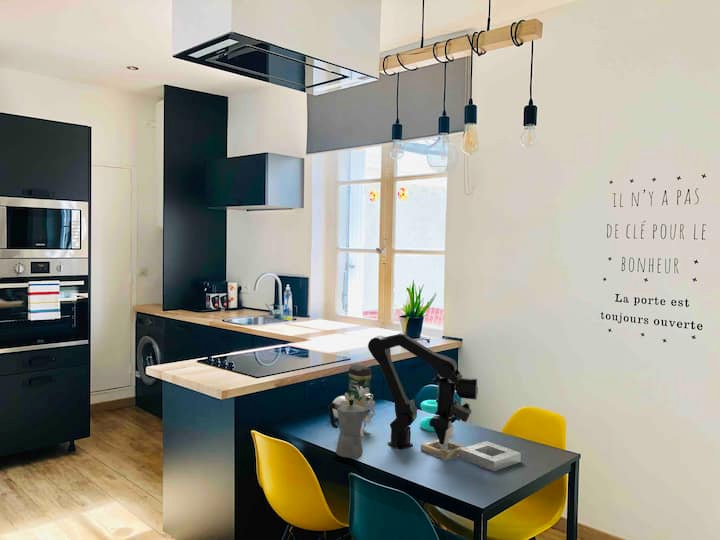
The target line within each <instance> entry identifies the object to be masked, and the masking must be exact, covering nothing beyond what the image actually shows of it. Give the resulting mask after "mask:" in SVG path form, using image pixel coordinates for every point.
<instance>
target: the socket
mask: <svg viewBox="0 0 720 540" xmlns="http://www.w3.org/2000/svg"><path fill="white" fill-rule="evenodd" d="M521 456H522V454H521V452H519V451H516V450H513V449H510V448H509V447H505V446H501V445H499V444H497V443H493V442H490V441H487V440H486V441H482V442H478V443H475V444H472V445H471V444H470V445H468V446H465V448H461V449H460V455H459V459H462V460H464V461H467V462H469V463H472V464H475V465H478V466H480V467H482V468H485V469H487V470H490V471H493V472H497V471H499V470H501V469H504V468H508V467H510V466H513V465H516V464H518V463H521V458H522V457H521Z"/></svg>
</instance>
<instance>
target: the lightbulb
mask: <svg viewBox="0 0 720 540" xmlns="http://www.w3.org/2000/svg"><path fill="white" fill-rule="evenodd" d="M450 425H451V427H450V428H449V429H447V431H446V436H445V440H444V444H440V447H439V449H440V450H442V451H449V448H448V443H449V441H450V439H451V437H453V435H454V432H455V427H454V424H453V423H452V422H451V423H450Z"/></svg>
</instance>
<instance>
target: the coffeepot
mask: <svg viewBox="0 0 720 540" xmlns="http://www.w3.org/2000/svg"><path fill="white" fill-rule="evenodd" d="M353 401H354V400H352V399H350V400H349V405H341V404H335V403H333V402H331V403H330V405H329V406H328V407H327V411H328V416H329V420H330V424H331V427H332V428H334V429H338V428H339V429H340V430H339V431H340V432H339V434H338V439H337V440H338V441H337V445H336V449H335V450H336V451H335V454H336V455H337V456H339V457H341V458H349V459H350V458H351V459H352V458H358V457H361V456H362V455H363V452H364V451H363V442H362V436H361V434H360V430H361V428H362V425H363V423H364V421H363V420H364V418H365V417H366V416H367V415H370V412H369V410H364V409H365V408H364V407H361V406H358V405H353ZM333 409H336V410H337V411H338V418H337V419H338V425H337V424H336V423H335V422H336V420H335V416H334V415H333Z"/></svg>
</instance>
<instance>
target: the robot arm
mask: <svg viewBox="0 0 720 540" xmlns="http://www.w3.org/2000/svg"><path fill="white" fill-rule="evenodd" d="M395 347H401V348H403V349H404V350H406V351H408V352H409V353H411V354H413V355H414V356H416V357H417V358H418V359H420V360H422V361H424V362H425V363H427V364H428V365H429V366H430V367H431V368H432V369H433V370H434V371H435V373H437V375H436V377H434V378H433V379H432V381H431V382H432V383H437V398H436V399H435V400H436V402H437V411H436V413H435V415H434V416H432V417H433V418H432V419H431V420H430V426H431V427H433V428H434V430H435V431H434V432H435V434H436V437H437V440H439V442H440V444H444V440H445V436H446V431H447V429H449V428H450V427H451V425H450V423H451V422H452V424H453V423H455V422H456V421H457V419H459V420H461V421H462V422H465V423H466V422H467V421H468V420H469V419H470V417H471V416H470V415H471V413H472V409H471V406H470V404H469V403H467V402H465V403H463V404H459V403H457V402H458V400H457V398H456V397H455V395H457V396H458V397H459V398H460V399H465V400H466V399H467V400H474V401H475V400H476V401H477V400H478V392H479V387H478V379H477V378H468V377H467V378H465V377H463V375H462V374H461V372H460V371H459V369H458V364H457V362H456V360H455V359H453V358H452V357H448V356H447V355H443V354H440V353H437V352H434V351H432V350H431V349H430V348H428V347H427V346H425V345H423V344H421V343H420V342H418V341H416V340H415V339H413V338H412V337H410V336H408V335H407V334H406V333H404V332H400V333H398V334H393V335H389V336H384V335H377V336H375V337H373V338H371V339H370V340H369V342H368V344H367V349H368V351H369V352H370V354H371V356H372V357H373V359H374V360H375V361H376V362H377V363H378V364H379V367H380V370H381V372H382V375H383V377H384V379H385V382H386V384H387V387H388V390H389V392H390V395H391V397H392V399H393V403H394V413H395V416H396V417H395V418H394V419H393V420H392V421H391V423H390V424H389V426H390V429H391V430H390V432H391V433H390V441H388V442H387V444H388V446H389V445H390V446H391V447H394V448H396V449H399V450H402V449H405V448H410V447H412V446H413V445H414V444H413V443H411V438H412V437H411V433H412V431H411V425H412V424H413V423H414V421H416V419H417V417H418V411H419V410H418V408H417V406H416V405H415V403H416V402H415V400H414V399H411V400H410V399H409V398H408V397H407V395H406V393H405V391H404V388H403V385H402V383H401V381H400V378H399V375H398V373H397V371H396V369H395V366H394V362H393V360H392V356H391V355H392V354H391V349H392V348H395Z"/></svg>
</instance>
